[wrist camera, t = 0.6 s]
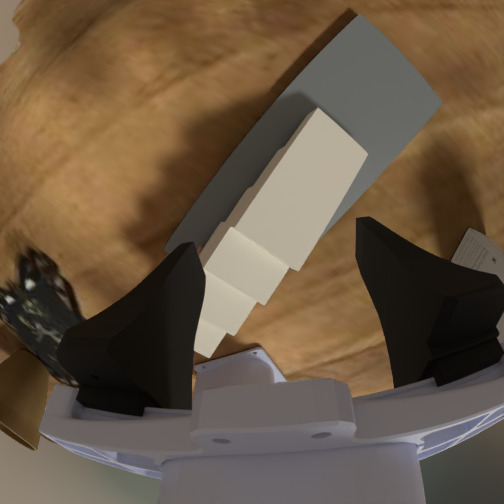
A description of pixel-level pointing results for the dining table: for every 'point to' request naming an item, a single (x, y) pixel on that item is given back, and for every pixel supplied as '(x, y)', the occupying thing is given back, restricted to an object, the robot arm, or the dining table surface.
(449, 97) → the dining table surface
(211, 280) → the domino
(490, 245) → the skincare box
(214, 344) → the domino
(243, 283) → the domino
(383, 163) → the domino board
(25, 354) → the plant pot
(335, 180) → the domino
